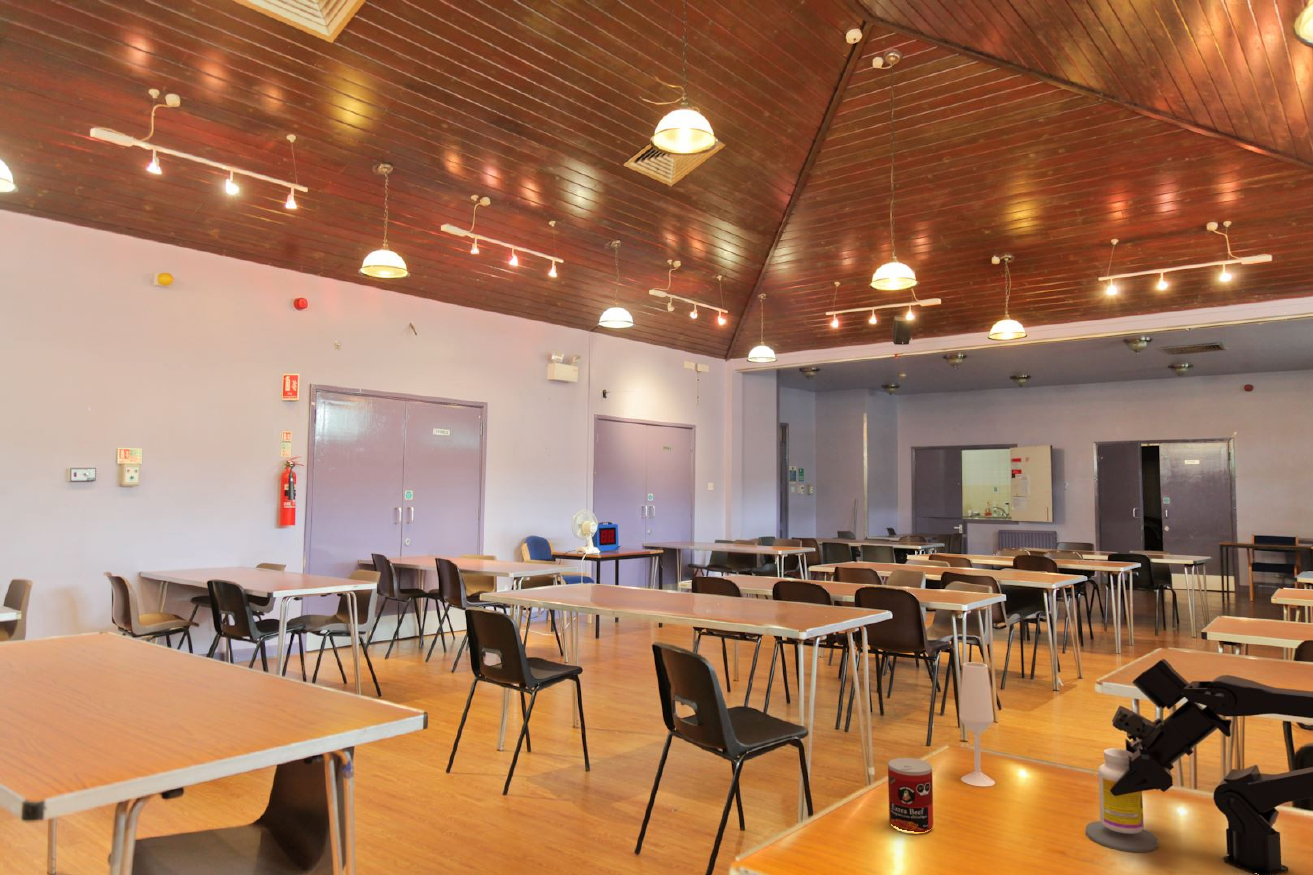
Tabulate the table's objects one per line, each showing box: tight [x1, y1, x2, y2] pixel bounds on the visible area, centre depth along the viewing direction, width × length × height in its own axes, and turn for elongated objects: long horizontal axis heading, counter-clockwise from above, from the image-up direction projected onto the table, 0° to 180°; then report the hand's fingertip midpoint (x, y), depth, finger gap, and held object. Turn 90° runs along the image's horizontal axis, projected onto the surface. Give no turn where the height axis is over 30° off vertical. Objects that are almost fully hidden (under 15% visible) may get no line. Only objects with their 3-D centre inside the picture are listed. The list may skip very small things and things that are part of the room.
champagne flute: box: [959, 661, 996, 787], centre depth 173 cm, size 7×7×24 cm
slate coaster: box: [1085, 820, 1159, 853], centre depth 144 cm, size 11×11×1 cm
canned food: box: [887, 757, 934, 832], centre depth 149 cm, size 8×8×11 cm
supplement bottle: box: [1097, 748, 1144, 834], centre depth 144 cm, size 7×7×13 cm
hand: (1111, 786), depth 145 cm, fingers closed on supplement bottle, 6 cm apart
